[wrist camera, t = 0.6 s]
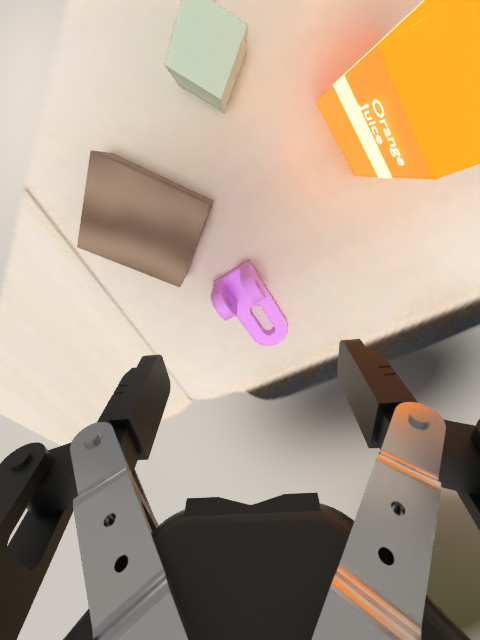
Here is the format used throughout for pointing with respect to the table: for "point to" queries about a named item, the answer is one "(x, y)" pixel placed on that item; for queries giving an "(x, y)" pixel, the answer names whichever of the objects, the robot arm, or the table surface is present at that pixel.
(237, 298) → the bracket
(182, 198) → the plate
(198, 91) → the sage block
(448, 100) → the orange juice
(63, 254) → the table surface
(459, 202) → the table surface
